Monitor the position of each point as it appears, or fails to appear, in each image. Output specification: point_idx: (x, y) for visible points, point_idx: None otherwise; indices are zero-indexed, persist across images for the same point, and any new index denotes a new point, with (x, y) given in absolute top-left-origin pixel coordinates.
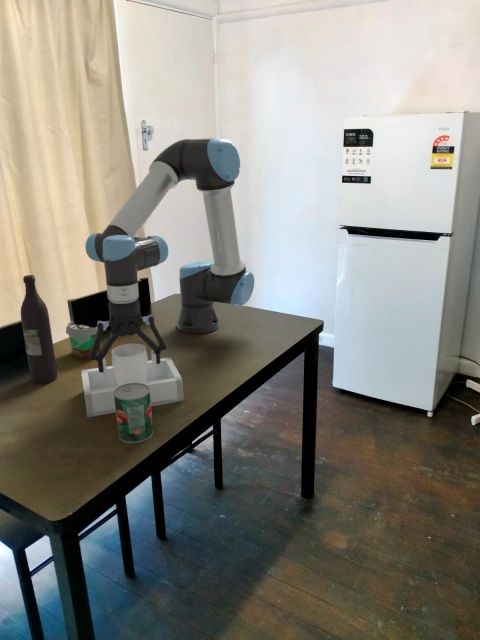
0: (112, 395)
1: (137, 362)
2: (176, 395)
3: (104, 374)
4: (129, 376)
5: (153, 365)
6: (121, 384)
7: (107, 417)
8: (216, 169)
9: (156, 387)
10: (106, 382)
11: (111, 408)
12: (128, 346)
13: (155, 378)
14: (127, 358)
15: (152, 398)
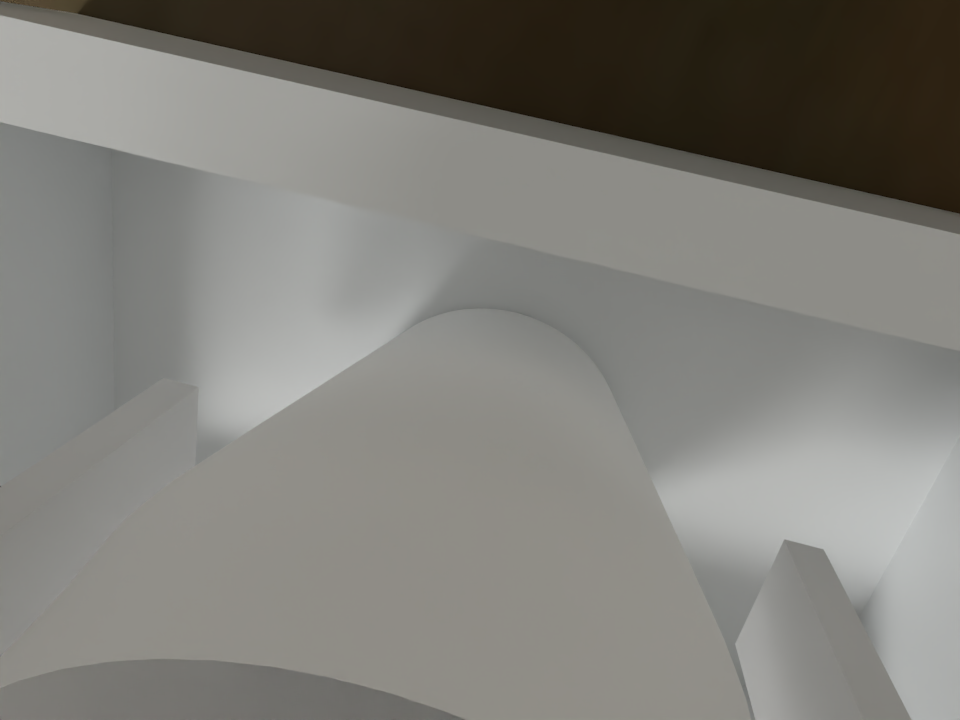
0: (909, 216)
1: (300, 495)
2: (96, 23)
3: (881, 674)
4: (545, 409)
5: (88, 491)
6: (638, 451)
7: (932, 119)
8: None
9: (247, 67)
10: (817, 569)
11: (862, 195)
12: None
13: None
14: (525, 677)
15: (370, 86)
